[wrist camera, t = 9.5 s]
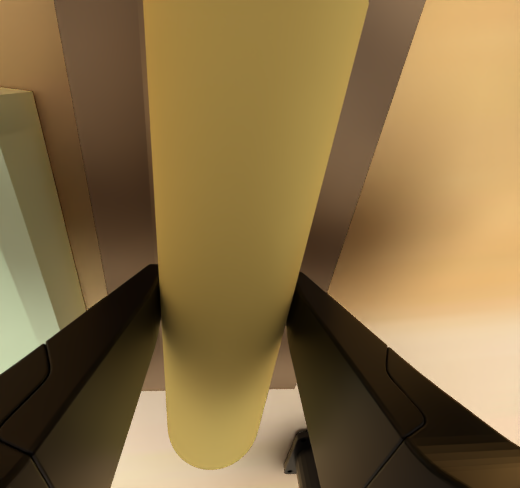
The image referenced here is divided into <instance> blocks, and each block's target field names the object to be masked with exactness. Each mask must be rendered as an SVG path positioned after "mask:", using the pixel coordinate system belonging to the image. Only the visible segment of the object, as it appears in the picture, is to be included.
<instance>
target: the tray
mask: <svg viewBox="0 0 520 488" xmlns="http://www.w3.org/2000/svg"><path fill="white" fill-rule="evenodd" d="M84 312H86V308H85V304H84V300H83V296H82V292H81V288H80V284H79V280H78V275H77V271H76V267H75V263H74V259H73V255H72V251H71V247H70V243H69V239H68V235H67V231H66V227H65V222H64V218H63V214H62V210H61V206H60V202H59V198H58V194H57V190H56V186H55V182H54V178H53V173H52V169H51V165H50V161H49V157H48V153H47V149H46V145H45V141H44V137H43V133H42V129H41V125H40V120H39V116H38V112H37V108H36V104H35V100H34V96H33V92H32V91H26V90H19V89H11V88H4V87H0V374H1V373H3V372H4V371H6V370H7V369H8V368H10V367H11V366H13V365H14V364H15V363H17V362H18V361H20V360H21V359H22V358H24V357H25V356H26V355H28V354H29V353H31V352H32V351H33V350H35V349H36V348H37V347H39V346H40V345H41V344H46V341H47V340H48V339H49V338H51V337H52V336H54V335H55V334H56V333H58V332H59V331H60V330H62V329H63V328H64V327H66V326H67V325H68V324H70V323H71V322H72V321H74V320H75V319H76V318H78V317H79V316H80V315H82V314H83V313H84Z"/></svg>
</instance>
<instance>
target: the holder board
mask: <svg viewBox="0 0 520 488" xmlns="http://www.w3.org/2000/svg"><path fill="white" fill-rule="evenodd" d="M425 1H426V0H369V5H368V9H367V13H366V17H365V21H364V25H363V28H362V32H361V36H360V40H359V44H358V48H357V52H356V55H355V59H354V63H353V67H352V71H351V75H350V78H349V82H348V86H347V90H346V94H345V98H344V102H343V105H342V109H341V113H340V117H339V121H338V125H337V129H336V132H335V136H334V140H333V144H332V148H331V152H330V156H329V159H328V163H327V167H326V171H325V175H324V179H323V182H322V186H321V190H320V194H319V198H318V202H317V206H316V209H315V213H314V217H313V221H312V225H311V229H310V233H309V236H308V240H307V244H306V248H305V252H304V256H303V260H302V263H301V267H300V271H299V272H303V273H304V274H305V275H306V276H307V277H309V278H310V279H311V280H312V281H313V282H314V283H316V284H317V285H318V286H319V287H320V288H321V289H323V290H324V291H325V292H326V293H327V291H328V288H329V285H330V282H331V279H332V276H333V273H334V270H335V267H336V264H337V261H338V258H339V255H340V253H341V250H342V247H343V244H344V241H345V238H346V235H347V232H348V229H349V226H350V223H351V220H352V217H353V214H354V211H355V208H356V205H357V202H358V199H359V196H360V193H361V190H362V187H363V185H364V182H365V179H366V176H367V173H368V170H369V167H370V164H371V161H372V158H373V155H374V152H375V149H376V146H377V143H378V140H379V137H380V134H381V131H382V128H383V125H384V122H385V120H386V117H387V114H388V111H389V108H390V105H391V102H392V99H393V96H394V93H395V90H396V87H397V84H398V81H399V78H400V75H401V72H402V69H403V66H404V63H405V60H406V57H407V54H408V52H409V49H410V46H411V43H412V40H413V37H414V34H415V31H416V28H417V25H418V22H419V19H420V16H421V13H422V10H423V7H424V4H425ZM54 4H55V10H56V15H57V21H58V26H59V32H60V37H61V43H62V48H63V53H64V59H65V64H66V70H67V75H68V81H69V86H70V91H71V97H72V102H73V108H74V113H75V119H76V124H77V130H78V135H79V140H80V146H81V151H82V157H83V162H84V168H85V173H86V179H87V184H88V189H89V195H90V200H91V206H92V211H93V217H94V222H95V227H96V233H97V238H98V244H99V249H100V255H101V260H102V266H103V271H104V276H105V282H106V287H107V293H108V294H110V293H111V292H112V291H114V290H115V289H117V288H118V287H119V286H121V285H122V284H123V283H125V282H126V281H127V280H129V279H130V278H131V277H133V276H134V275H135V274H137V273H138V272H139V271H141V270H142V269H143V268H145V267H146V266H147V265H149V264H158V252H157V235H156V217H155V200H154V183H153V166H152V148H151V131H150V114H149V97H148V80H147V62H146V45H145V28H144V11H143V0H54ZM296 383H297V381H296V377H295V372H294V368H293V364H292V359H291V355H290V351H289V346H288V339H287V330H286V325H285V329H284V333H283V337H282V340H281V344H280V348H279V352H278V356H277V360H276V363H275V367H274V371H273V375H272V379H271V383H270V387H269V389H295V386H296ZM141 391H166V390H165V372H164V355H163V338H162V321H161V322H160V327H159V333H158V337H157V342H156V346H155V349H154V352H153V356H152V359H151V362H150V365H149V368H148V371H147V374H146V378H145V381H144V384H143V387H142V390H141Z"/></svg>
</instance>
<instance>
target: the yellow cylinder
mask: <svg viewBox="0 0 520 488" xmlns="http://www.w3.org/2000/svg"><path fill="white" fill-rule="evenodd" d="M368 5H369V0H143V11H144V28H145V45H146V62H147V80H148V97H149V114H150V131H151V148H152V166H153V183H154V200H155V217H156V235H157V252H158V269H159V286H160V303H161V321H162V338H163V355H164V372H165V390H166V407H167V424H168V434H169V438H170V442H171V444H172V446H173V448H174V450H175V451H176V453H177V454H178V455H179V456H180V457H181V458H182V459H183V460H184V461H185V462H187V463H188V464H190V465H192V466H194V467H197V468H200V469H205V470H215V469H221V468H224V467H227V466H229V465H232V464H234V463H235V462H237V461H238V460H239V459H241V458H242V457H243V456H244V455H245V454H246V453H247V452H248V451H249V449H250V448H251V446H252V445H253V443H254V441H255V438H256V436H257V433H258V429H259V425H260V421H261V417H262V414H263V410H264V406H265V402H266V398H267V394H268V390H269V387H270V383H271V379H272V375H273V371H274V367H275V363H276V360H277V356H278V352H279V348H280V344H281V340H282V337H283V333H284V329H285V325H286V321H287V317H288V313H289V310H290V306H291V302H292V298H293V294H294V290H295V286H296V283H297V279H298V275H299V271H300V267H301V263H302V260H303V256H304V252H305V248H306V244H307V240H308V236H309V233H310V229H311V225H312V221H313V217H314V213H315V209H316V206H317V202H318V198H319V194H320V190H321V186H322V182H323V179H324V175H325V171H326V167H327V163H328V159H329V156H330V152H331V148H332V144H333V140H334V136H335V132H336V129H337V125H338V121H339V117H340V113H341V109H342V105H343V102H344V98H345V94H346V90H347V86H348V82H349V78H350V75H351V71H352V67H353V63H354V59H355V55H356V52H357V48H358V44H359V40H360V36H361V32H362V28H363V25H364V21H365V17H366V13H367V9H368Z"/></svg>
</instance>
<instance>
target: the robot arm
mask: <svg viewBox="0 0 520 488" xmlns="http://www.w3.org/2000/svg"><path fill="white" fill-rule="evenodd" d="M160 322H161V303H160V286H159V269H158V264H149V265H147V266H146V267H145V268H143V269H142V270H141V271H139V272H138V273H137V274H135V275H134V276H133V277H131V278H130V279H129V280H127V281H126V282H125V283H123V284H122V285H121V286H119V287H118V288H117V289H115V290H114V291H112V292H111V293H110V294H108V295H107V296H106V297H104V298H103V299H102V300H100V301H99V302H98V303H96V304H95V305H94V306H92V307H91V308H90V309H88V310H87V311H86V312H84V313H83V314H82V315H80V316H79V317H78V318H76V319H75V320H74V321H72V322H71V323H70V324H68V325H67V326H66V327H64V328H63V329H62V330H60V331H59V332H58V333H56V334H55V335H54V336H52V337H51V338H49V339H48V340H47V341H46V344H41V345H40V346H39V347H37V348H36V349H35V350H33V351H32V352H31V353H29V354H28V355H26V356H25V357H24V358H22V359H21V360H20V361H18V362H17V363H15V364H14V365H13V366H11V367H10V368H8V369H7V370H6V371H4V372H3V373H1V374H0V488H110V487H111V484H112V481H113V478H114V475H115V472H116V469H117V465H118V462H119V459H120V456H121V453H122V450H123V447H124V443H125V440H126V437H127V434H128V431H129V428H130V425H131V421H132V418H133V415H134V412H135V409H136V406H137V403H138V400H139V396H140V393H141V390H142V387H143V384H144V381H145V378H146V374H147V371H148V368H149V365H150V362H151V359H152V356H153V352H154V349H155V346H156V342H157V337H158V333H159V327H160ZM286 330H287V339H288V346H289V351H290V355H291V359H292V364H293V368H294V372H295V377H296V381H297V385H298V390H299V394H300V398H301V403H302V407H303V411H304V416H305V420H306V424H307V429H308V432H300V433H298V434H297V435H296V437H295V439H294V442H293V444H292V447H291V449H290V452H289V454H288V457H287V459H286V462H285V464H284V473H285V474H297V478H298V484H299V488H520V447H519V446H518V445H516V444H514V443H513V442H511V441H510V440H508V439H507V438H505V437H504V436H503V435H501V434H500V433H498V432H497V431H496V430H494V429H493V428H492V427H490V426H489V425H488V424H486V423H485V422H484V421H482V420H481V419H480V418H479V417H477V416H476V415H475V414H473V413H472V412H471V411H469V410H468V409H467V408H465V407H464V406H463V405H461V404H460V403H459V402H457V401H456V400H455V399H453V398H452V397H451V396H449V395H448V394H447V393H445V392H444V391H443V390H441V389H440V388H439V387H437V386H436V385H435V384H434V383H432V382H431V381H430V380H428V379H427V378H426V377H425V376H423V375H422V374H421V373H420V372H418V371H417V370H416V369H415V368H413V367H412V366H411V365H410V364H409V363H407V362H406V361H405V360H404V359H403V358H401V357H400V356H399V355H398V354H397V353H396V352H395V351H393V350H392V349H391V348H390V347H388V348H387V345H386V344H385V343H384V342H383V341H382V340H380V339H379V338H378V337H377V336H376V335H375V334H374V333H372V332H371V331H370V330H369V329H368V328H367V327H365V326H364V325H363V324H362V323H361V322H360V321H358V320H357V319H356V318H355V317H354V316H353V315H351V314H350V313H349V312H348V311H347V310H346V309H345V308H343V307H342V306H341V305H340V304H339V303H338V302H336V301H335V300H334V299H333V298H332V297H331V296H329V295H328V294H327V293H326V292H325V291H324V290H323V289H321V288H320V287H319V286H318V285H317V284H316V283H314V282H313V281H312V280H311V279H310V278H309V277H307V276H306V275H305V274H304V273H303V272H299V275H298V279H297V283H296V286H295V290H294V294H293V298H292V302H291V306H290V310H289V313H288V317H287V321H286Z"/></svg>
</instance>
